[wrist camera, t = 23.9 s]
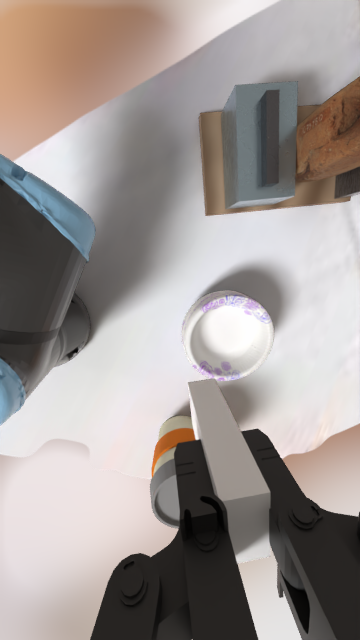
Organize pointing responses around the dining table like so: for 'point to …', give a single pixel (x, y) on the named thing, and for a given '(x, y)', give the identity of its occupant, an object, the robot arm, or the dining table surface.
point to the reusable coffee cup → (168, 469)
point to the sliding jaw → (259, 144)
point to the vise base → (305, 195)
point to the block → (330, 137)
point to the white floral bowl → (227, 335)
